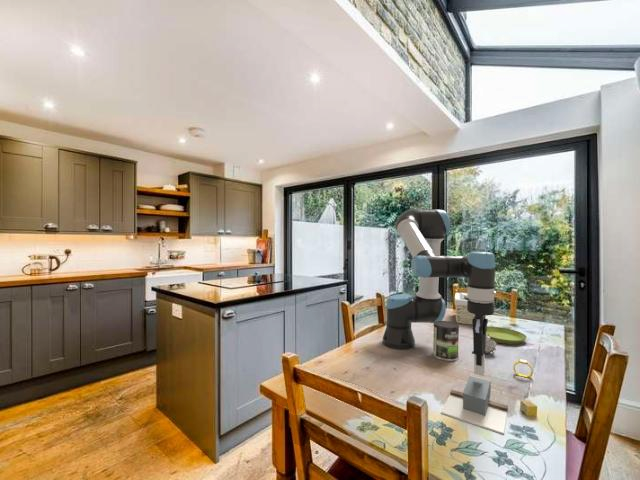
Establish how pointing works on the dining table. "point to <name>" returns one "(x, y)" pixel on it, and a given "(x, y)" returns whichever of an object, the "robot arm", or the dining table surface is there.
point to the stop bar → (491, 403)
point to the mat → (476, 415)
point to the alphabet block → (528, 408)
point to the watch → (523, 363)
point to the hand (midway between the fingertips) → (479, 374)
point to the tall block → (477, 395)
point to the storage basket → (462, 309)
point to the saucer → (505, 335)
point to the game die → (490, 344)
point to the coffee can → (446, 340)
